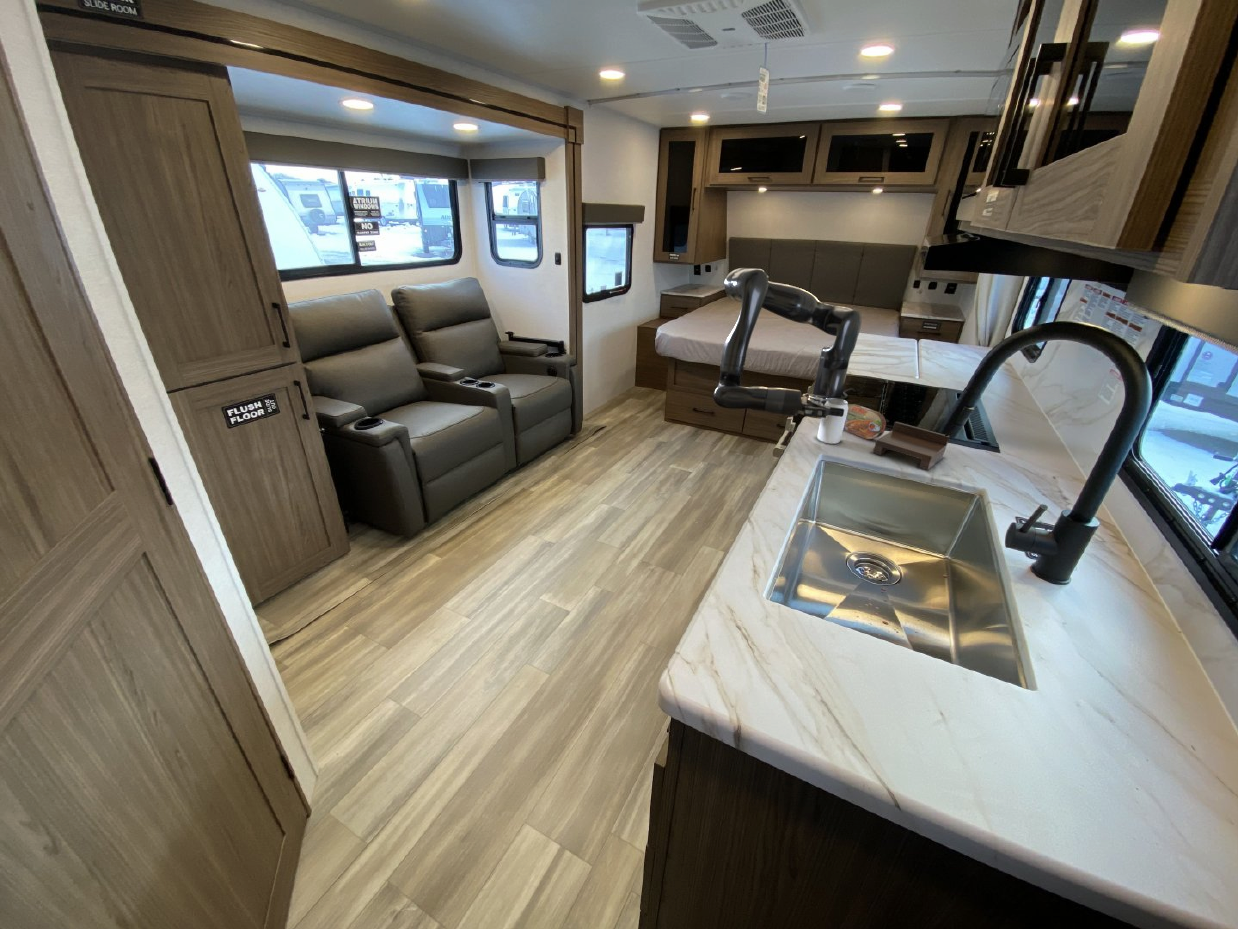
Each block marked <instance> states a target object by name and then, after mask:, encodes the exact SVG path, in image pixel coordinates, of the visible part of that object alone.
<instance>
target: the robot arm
mask: <svg viewBox="0 0 1238 929" xmlns="http://www.w3.org/2000/svg"><path fill="white" fill-rule="evenodd" d="M724 290H725V293H726V295H727V296H728V297H729V299H732V301H734V302H737V303H741V307H740V312H739V316H738V319H737V321H736V323H735V325H734V327H733V328H732V330H731V332H730V333H729V335H728V337H727V338H726V340H725V343H724V346H723V348H722V353H721V359H720V364H719V371H720V374H719V378H718V383H717V387H716V388H715V390H714V391H713V394H712V395H713V396H712V397H713V401H714V403H715V404H716V405H717V406H719V407H720V408H723V409H731V410H732V409H734V410H744V409H745V410H746V409H747V410H754V411H760V412H767V413H771V414H777V415H785V416H792V417H796V416H798V413H799V411H800V412H803V416H804V417H811V418H812V417H813V418H820V419H821V418H826V416H828V415H831V416H839V417H842V416H843V414H844V409H842V408H834V407H828V406H824V405H825V403H826V402H827V399H829V398H838V399H842V400H845V399H847V398H848V397H849V395H848V393H847V392H850V391H852V392H853V393H855V392H856V389H854V388H847V389H845V390H844V386H845V382H846V378H847V375H848V374H847V373H848V368H849V365H850V359H851V356H852V354H853V352H854V351H855V348H856V345H857V341H858V338H859V336H860V332H861V328H862V323H863V322H862V321H863V317H862V313H861V312H860V311H859V310H858V309H855V308H850V307H845V306H839V305H832V304H827V303H823V302H821V301H820V300H818V298H817V297H816V296H815V295H814V294H812V293H810V292H809V291H806V290H805V289H802V288H799V287H798V286H797V287H796V286H793V285H789V284H784V283H779V282H773V281H769V276H768V274H767V272H766V271H764V270H763V269H761V268H755V267H754V268H753V267H740V268H735V269H734V270H731V271H730V272H729V273H728V275H727V276H726V277H725V279H724ZM762 309H764V310H766V311H768V312H770V313H772V314H774V315H777V316H779V317H781V318H784V319H786V320H789V321H791V322H794V323H799V324H805V325H810V326H812V327H814V328H816V329H818V330H820V331H821V332H824V333H825V334H827V335H829V336H833V337H835V340H834V342H833V344H831V345H827V346H824V347H823V348H822V349H821V352H820V356H819V361H818V365H817V371H816V377H815V381H814V385H813V391H812V393H805V396H802V391H801V390H799V389H793V388H792V389H791V388H782V387H766V386H757V385H754V386H753V385H752V386H747V387H746V386H741V385H742V379H743V373H744V369H745V366H746V365H745V364H746V361H747V356H748V351H749V346H750V342H751V339H752V336H753V333H754V330H755V328H756V325H757V322H758V320H759V316H760V313H761V310H762ZM842 395H844V396H842Z"/></svg>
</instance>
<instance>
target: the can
mask: <svg viewBox="0 0 1238 929" xmlns="http://www.w3.org/2000/svg"><path fill="white" fill-rule="evenodd" d="M848 404H849V402H848V400H845V399H838V398H829V399H827V402H826V403H825V405H824V406H828V407H834V408H842V409H844V414H843V416H842V417H839V416H831V415H828V416H826V418H821V417H820V422H819V426H818V431H817V436H816V437H817V439H818V441H820V442H821V443H824V444H827V445H828V444H830V445H836V444H839V443H840V442H841V441H842V438H843V432H844V424H845V420H846V416H847V412H848Z"/></svg>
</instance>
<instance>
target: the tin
mask: <svg viewBox="0 0 1238 929" xmlns="http://www.w3.org/2000/svg"><path fill="white" fill-rule="evenodd" d="M847 405H848V412H847V416H846V420H845V424H844V429H843V431H845V432H848V433H850V434H853V435H856V436H858V437H860V438H863V439H865V440H873V439H878V438H880V437H882V436H883V434H884V433H885V431H886V427H887V422H886V418H885V416H884V415H883V414H882V413H881V412H880V411H876V410H874V409H871V408H868V407H865V406H862V405H859V404H856V403H854V404H852V403H848V404H847Z"/></svg>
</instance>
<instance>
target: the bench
mask: <svg viewBox="0 0 1238 929" xmlns="http://www.w3.org/2000/svg"><path fill="white" fill-rule="evenodd" d="M945 435H946V434H944V433H939V432H936V431H934V430H933V431H932V430H929V429H925V428H921V427H918V426H914V425H910V424H906V423H903V422H899V421H894V423H893V426H892V430H891V431H889V432H887V433H886V434H884V435H881V436H880V437H878V438H877V439H876V441H875V445H874V447H873V451H872V454H875V455H877V456H882V455H883V454H885V453H886V452H888V451H889V450H890V451H893V452H897V453H900V454H903V455H907V456H909V457H913V458H917V459H920V460H921V461H920V464H919V467H918V468H919V469H921V470H925V471H929V470H930V469H931V468H932V467H934V465H936V464H937V463H938V462H939V461H941V460H942V459H943V457H944V454H945V452H946V449H947V446H948V443H949V440H950V437H951V436H950V435H948V436H945Z"/></svg>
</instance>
